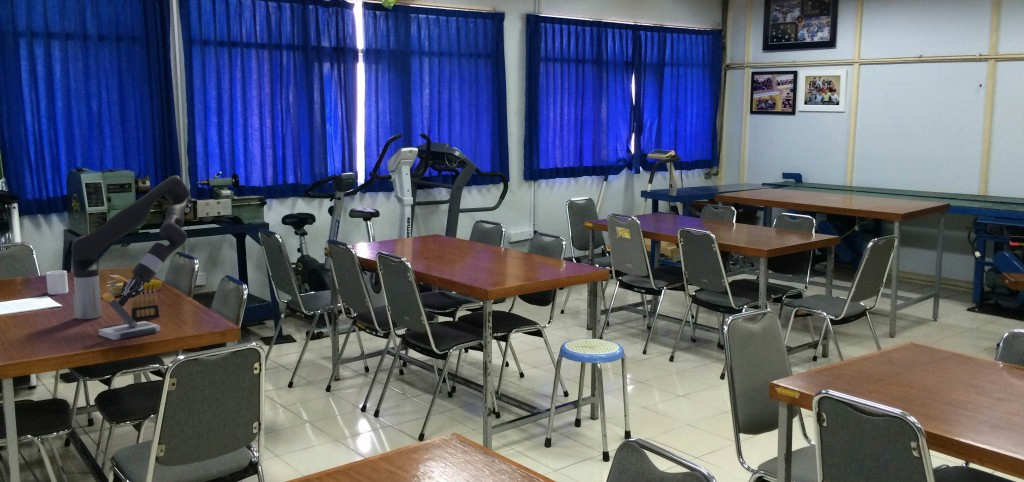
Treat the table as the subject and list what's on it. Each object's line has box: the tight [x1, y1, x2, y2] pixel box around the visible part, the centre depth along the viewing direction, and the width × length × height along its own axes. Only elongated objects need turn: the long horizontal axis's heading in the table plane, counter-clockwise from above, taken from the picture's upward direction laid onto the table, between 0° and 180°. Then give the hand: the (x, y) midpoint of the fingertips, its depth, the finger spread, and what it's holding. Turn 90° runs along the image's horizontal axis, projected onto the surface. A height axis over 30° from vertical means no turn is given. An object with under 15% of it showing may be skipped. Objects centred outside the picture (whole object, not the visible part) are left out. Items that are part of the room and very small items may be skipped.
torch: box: [106, 274, 163, 298], centre depth 413 cm, size 8×8×25 cm
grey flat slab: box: [98, 320, 161, 341], centre depth 338 cm, size 18×12×2 cm, turn 139°
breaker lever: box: [101, 292, 137, 327], centre depth 335 cm, size 2×4×16 cm
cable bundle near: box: [120, 327, 157, 340], centre depth 333 cm, size 13×2×2 cm, turn 139°
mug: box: [45, 269, 69, 296], centre depth 416 cm, size 12×9×10 cm
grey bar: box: [101, 320, 137, 329], centre depth 343 cm, size 13×2×2 cm, turn 139°
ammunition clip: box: [130, 288, 160, 321], centre depth 361 cm, size 11×2×12 cm, turn 128°
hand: (119, 305), depth 334 cm, fingers closed
